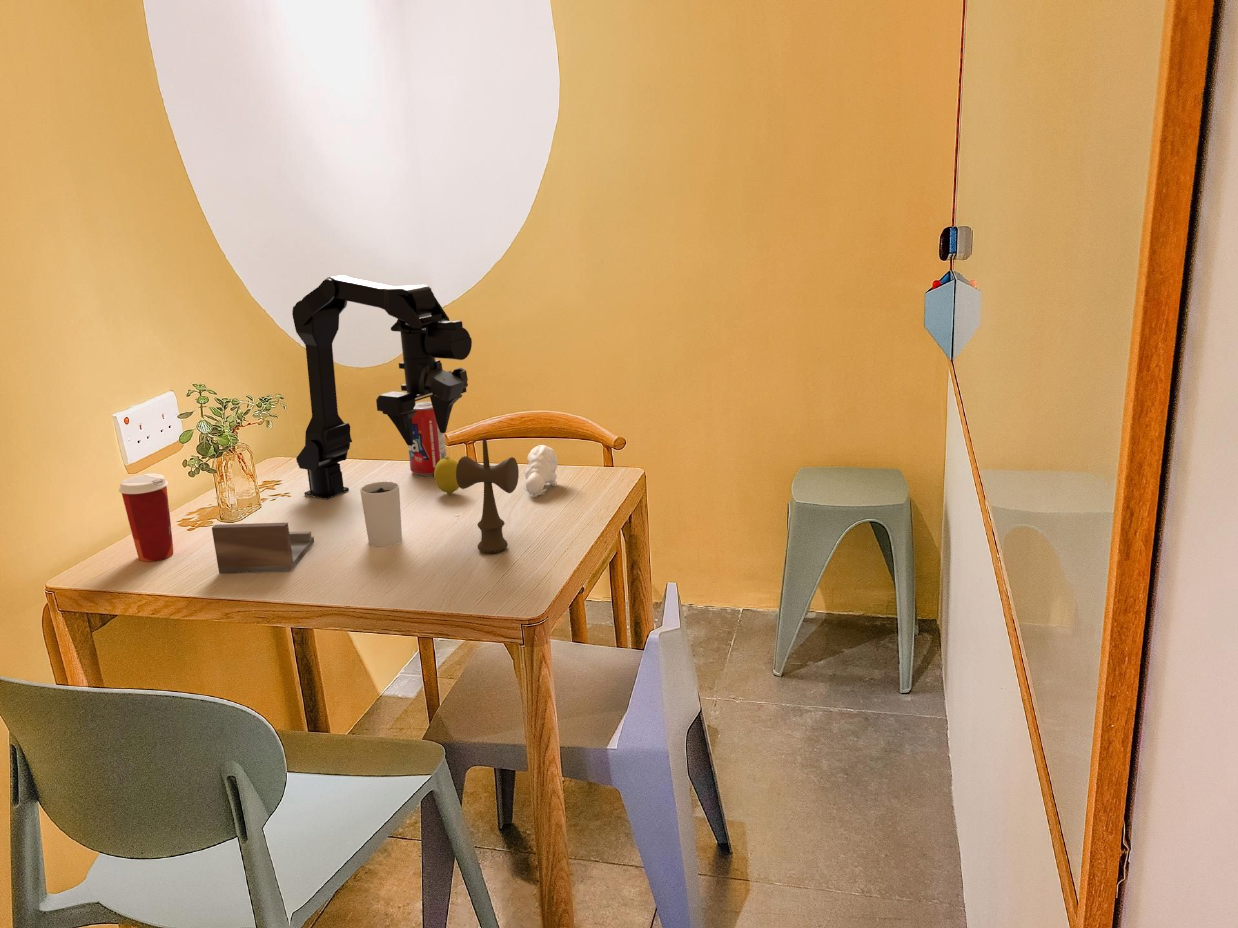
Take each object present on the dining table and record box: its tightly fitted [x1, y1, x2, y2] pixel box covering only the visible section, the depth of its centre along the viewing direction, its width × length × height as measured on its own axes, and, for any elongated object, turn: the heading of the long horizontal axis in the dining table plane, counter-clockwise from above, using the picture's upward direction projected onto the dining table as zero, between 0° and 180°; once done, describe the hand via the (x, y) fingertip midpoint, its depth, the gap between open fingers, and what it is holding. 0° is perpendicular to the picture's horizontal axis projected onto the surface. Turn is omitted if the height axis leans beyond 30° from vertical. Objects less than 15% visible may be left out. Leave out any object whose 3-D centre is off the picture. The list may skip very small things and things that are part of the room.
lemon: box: [433, 455, 459, 496], centre depth 200 cm, size 6×6×8 cm
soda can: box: [407, 401, 447, 477], centre depth 214 cm, size 8×8×15 cm
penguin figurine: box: [523, 444, 559, 498], centre depth 200 cm, size 6×8×12 cm
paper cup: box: [118, 473, 174, 563], centre depth 172 cm, size 8×8×14 cm
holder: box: [211, 522, 315, 574], centre depth 171 cm, size 13×12×8 cm
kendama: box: [456, 437, 520, 554], centre depth 169 cm, size 6×10×20 cm, turn 74°
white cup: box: [359, 481, 403, 548], centre depth 176 cm, size 7×7×10 cm
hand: (426, 439), depth 186 cm, fingers open, 9 cm apart
